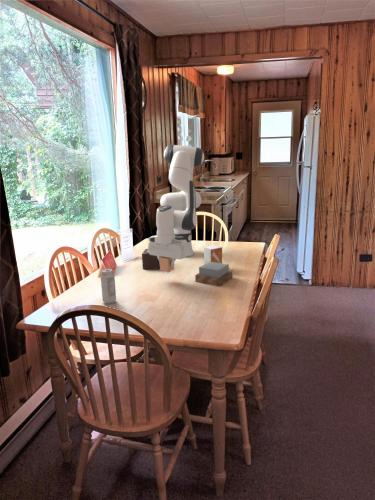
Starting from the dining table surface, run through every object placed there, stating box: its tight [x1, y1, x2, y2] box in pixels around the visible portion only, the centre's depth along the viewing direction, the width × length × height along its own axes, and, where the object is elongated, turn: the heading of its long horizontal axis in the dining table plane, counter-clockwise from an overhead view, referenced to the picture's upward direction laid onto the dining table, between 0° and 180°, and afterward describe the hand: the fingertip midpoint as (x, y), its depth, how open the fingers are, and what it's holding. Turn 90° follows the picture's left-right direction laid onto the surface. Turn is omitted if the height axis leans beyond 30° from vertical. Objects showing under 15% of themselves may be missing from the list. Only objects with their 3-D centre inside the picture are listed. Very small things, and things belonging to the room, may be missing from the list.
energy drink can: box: [100, 268, 117, 304], centre depth 181 cm, size 6×6×15 cm
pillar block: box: [159, 257, 175, 273], centre depth 205 cm, size 5×5×7 cm
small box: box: [203, 244, 223, 265], centre depth 221 cm, size 8×6×13 cm
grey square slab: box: [198, 262, 230, 278], centre depth 206 cm, size 11×11×4 cm
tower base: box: [194, 270, 233, 287], centre depth 207 cm, size 14×14×4 cm
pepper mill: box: [141, 248, 160, 270], centre depth 232 cm, size 16×11×18 cm
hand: (166, 265), depth 205 cm, fingers closed on pillar block, 5 cm apart
